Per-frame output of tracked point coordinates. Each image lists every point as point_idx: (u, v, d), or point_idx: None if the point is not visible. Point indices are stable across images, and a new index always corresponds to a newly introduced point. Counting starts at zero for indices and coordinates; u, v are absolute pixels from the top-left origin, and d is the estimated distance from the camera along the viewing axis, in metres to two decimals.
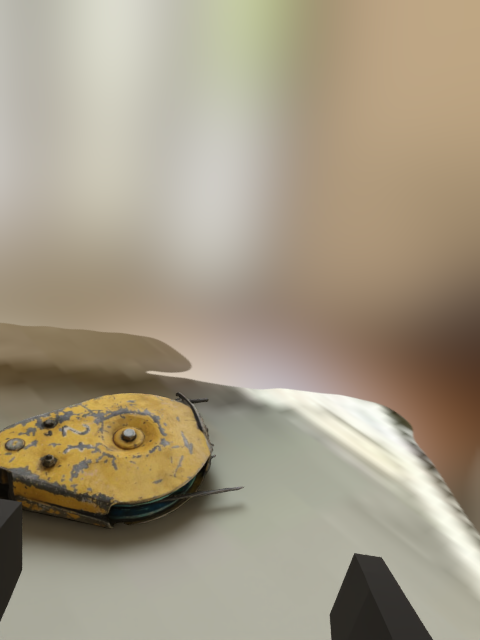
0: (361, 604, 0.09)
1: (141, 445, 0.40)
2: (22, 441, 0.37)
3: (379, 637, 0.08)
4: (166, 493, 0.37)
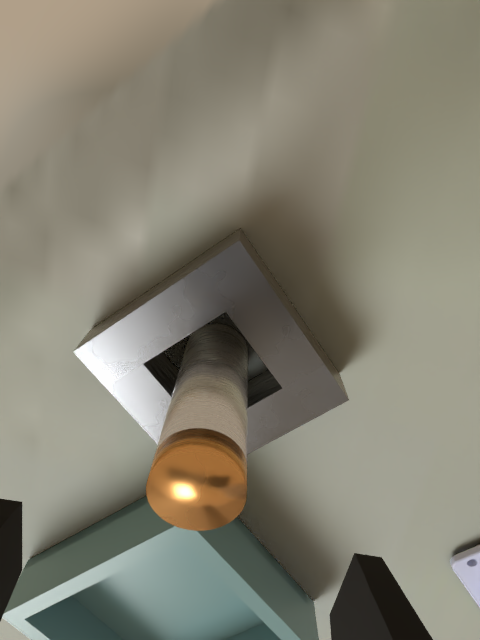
0: (361, 604, 0.09)
1: None
2: None
3: (379, 637, 0.08)
4: None
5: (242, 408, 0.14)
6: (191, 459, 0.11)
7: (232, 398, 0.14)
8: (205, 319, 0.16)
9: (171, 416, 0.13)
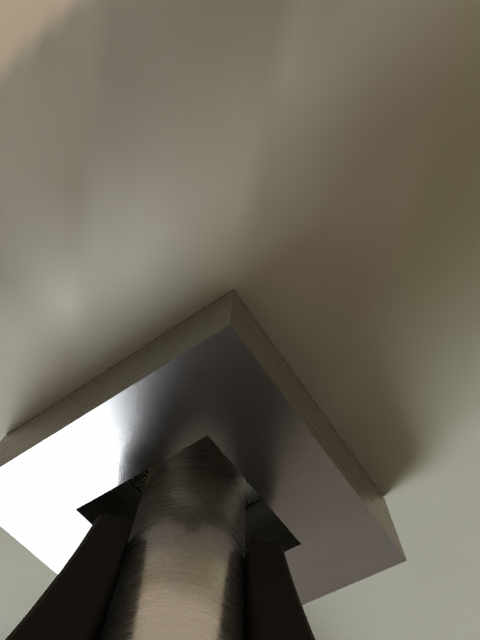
0: (249, 587, 0.09)
1: None
2: None
3: (255, 619, 0.08)
4: None
5: None
6: None
7: (215, 634, 0.07)
8: (174, 446, 0.10)
9: None
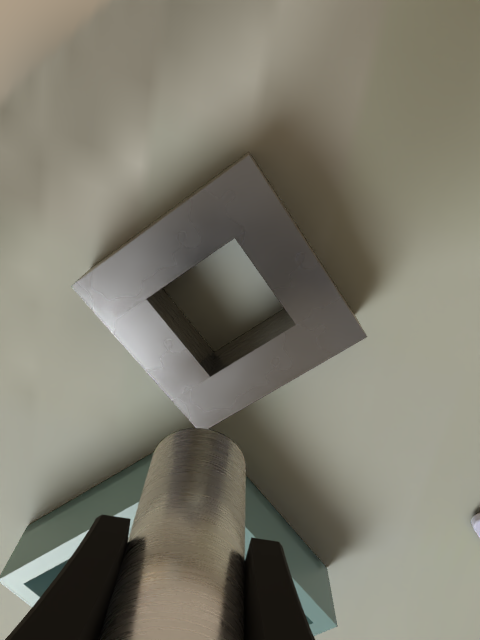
0: (249, 587, 0.09)
1: None
2: None
3: (255, 619, 0.08)
4: None
5: None
6: None
7: (215, 632, 0.07)
8: (212, 247, 0.15)
9: None
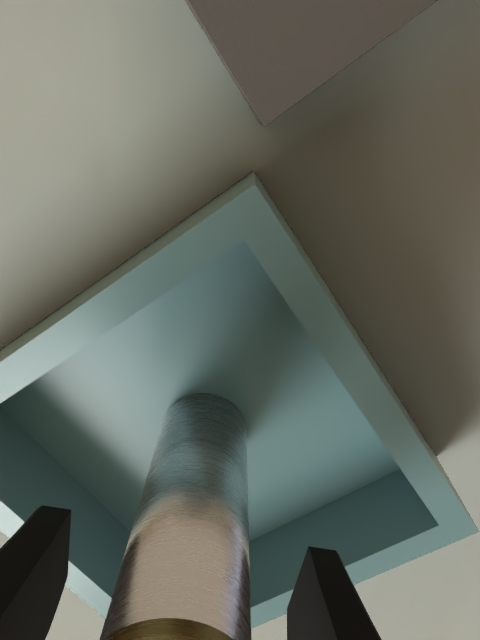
0: (311, 597, 0.09)
1: None
2: None
3: (324, 629, 0.08)
4: None
5: (242, 548, 0.09)
6: None
7: (226, 535, 0.09)
8: None
9: (127, 576, 0.08)
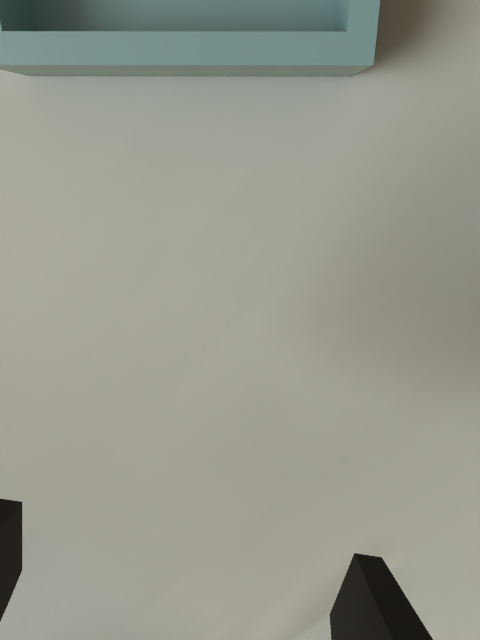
0: (361, 604, 0.09)
1: None
2: None
3: (379, 637, 0.08)
4: None
5: None
6: None
7: None
8: None
9: None
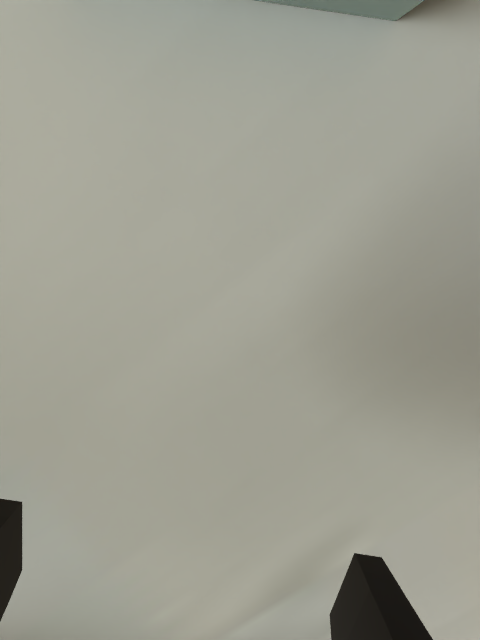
0: (361, 604, 0.09)
1: None
2: None
3: (379, 637, 0.08)
4: None
5: None
6: None
7: None
8: None
9: None
